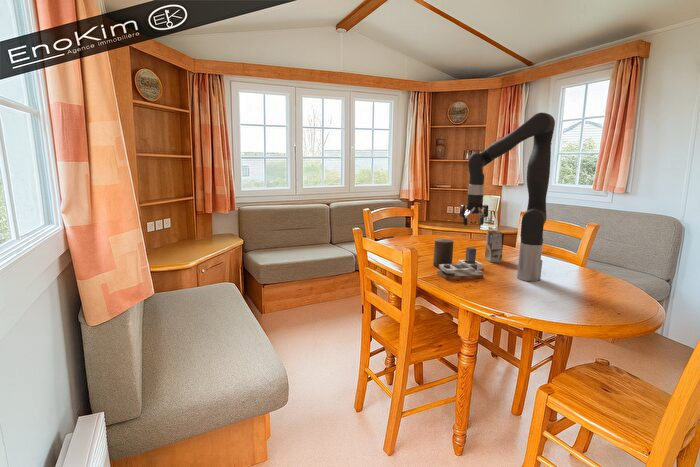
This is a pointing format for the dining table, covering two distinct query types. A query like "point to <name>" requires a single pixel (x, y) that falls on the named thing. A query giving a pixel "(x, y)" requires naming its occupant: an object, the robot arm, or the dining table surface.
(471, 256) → the steel pin
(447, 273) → the grey slotted fixture
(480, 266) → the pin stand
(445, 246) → the pillar candle
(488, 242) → the coffee box
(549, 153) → the robot arm
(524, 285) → the dining table surface
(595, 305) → the dining table surface
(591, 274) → the dining table surface
